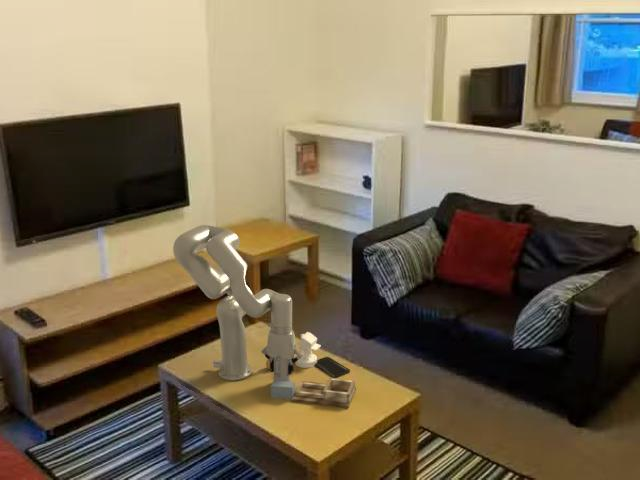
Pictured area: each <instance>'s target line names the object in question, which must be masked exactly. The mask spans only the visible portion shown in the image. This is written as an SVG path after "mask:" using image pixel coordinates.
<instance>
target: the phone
mask: <svg viewBox="0 0 640 480" xmlns="http://www.w3.org/2000/svg"><path fill="white" fill-rule="evenodd" d="M314 367H316V368H317V369H319V370H321V371H323V372H325V373H326V374H328V375H329V376H331V377H332V378H333V379H339V378H340V377H343V376H345V375H347V374H349V373H350V372H351V369H349V368H348V367H346V366H344V365H343V364H341V363H339V362H338V361H336V360H334V359H332V357H330V356H324V357H322V358H319V359H318V358H317V363H316V364H315V366H314Z"/></svg>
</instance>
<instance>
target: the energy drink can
mask: <svg viewBox="0 0 640 480" xmlns="http://www.w3.org/2000/svg"><path fill="white" fill-rule="evenodd" d="M288 366H289V361H288V359H283V358H282V354H281V353H277V358H274V372H273V380H277V381H289V382H291V375H289V374H288Z"/></svg>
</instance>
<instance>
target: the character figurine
mask: <svg viewBox="0 0 640 480" xmlns="http://www.w3.org/2000/svg"><path fill="white" fill-rule="evenodd" d="M299 335H300V336H299V337H300V340H299V342H298V351H299V352H300V353H301V352H302V353H301V354H302V357H301V358H300V359H299V360H297V362H295V365H296V366H297V367H299V368H301V369H302V368H303V369H308V368H313V367H316V366H315V364H316V363H317V360H318V357H317V355H316V354H314V353H313V351H314V352H316V351H318V350H319V349H320V348H321V346H322V345H321V344H319V343H317V342H318V338H317V337H316V336H315V335H314V334H313V333H311V332H309V331H306V333H301V334H299Z"/></svg>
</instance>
